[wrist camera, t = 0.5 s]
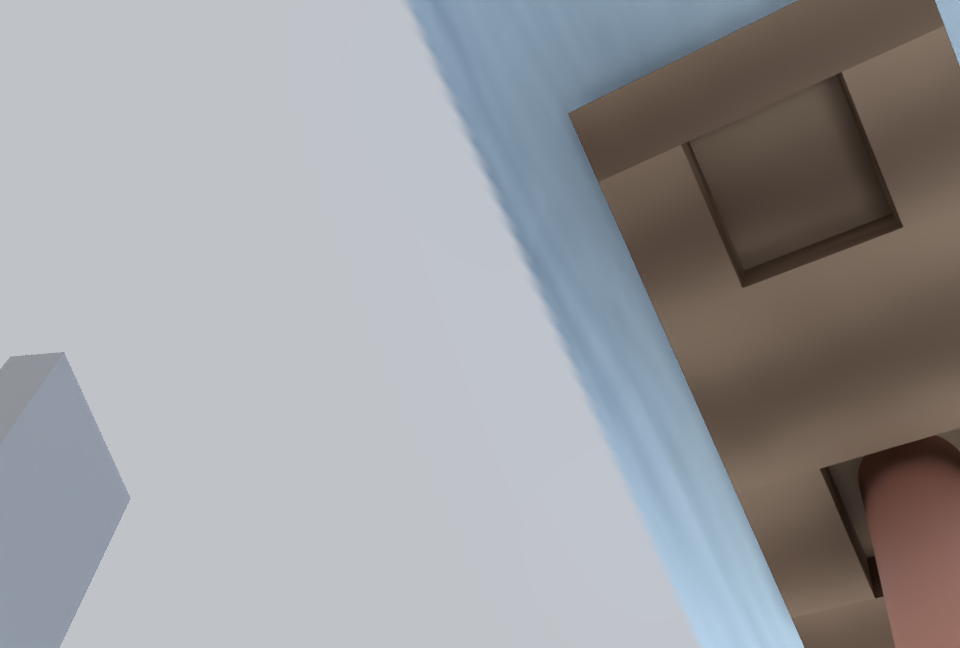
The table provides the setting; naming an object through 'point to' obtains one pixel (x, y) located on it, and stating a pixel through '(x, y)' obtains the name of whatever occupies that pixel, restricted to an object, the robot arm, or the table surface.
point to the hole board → (802, 267)
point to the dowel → (916, 538)
